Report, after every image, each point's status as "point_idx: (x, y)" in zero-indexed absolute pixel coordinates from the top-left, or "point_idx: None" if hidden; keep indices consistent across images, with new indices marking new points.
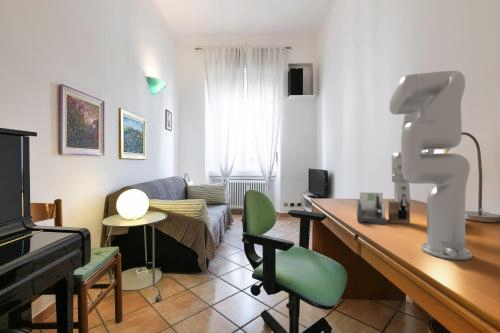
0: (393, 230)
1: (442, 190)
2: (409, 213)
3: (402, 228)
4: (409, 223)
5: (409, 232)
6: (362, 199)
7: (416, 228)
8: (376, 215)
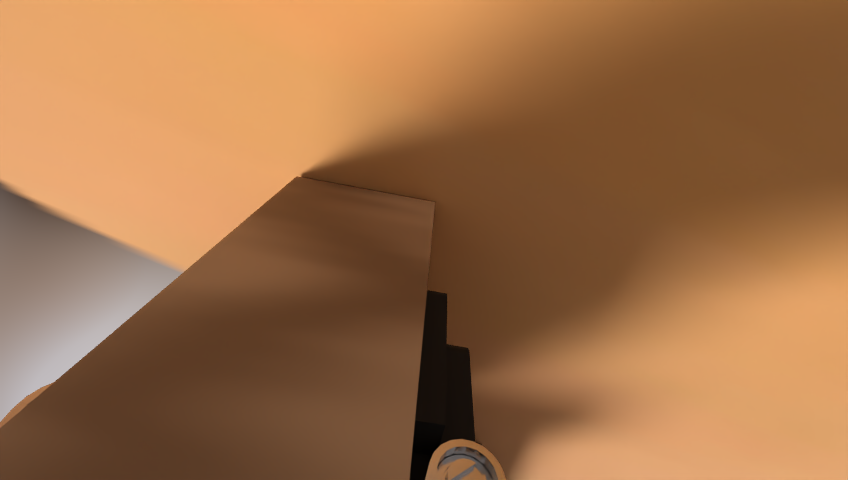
0: (718, 462)
1: None
2: (424, 304)
3: (660, 369)
4: (433, 209)
5: (839, 368)
6: None
7: (692, 220)
8: None
